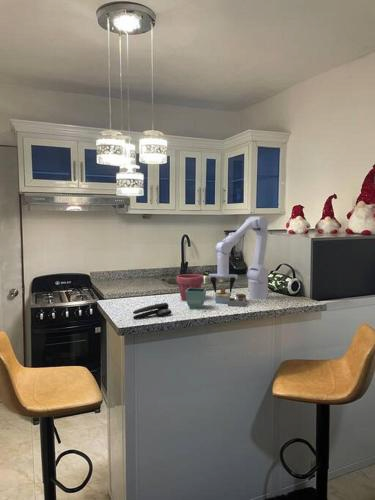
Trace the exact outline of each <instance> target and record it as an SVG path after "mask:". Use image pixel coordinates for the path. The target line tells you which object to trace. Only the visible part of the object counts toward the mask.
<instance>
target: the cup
mask: <svg viewBox="0 0 375 500" xmlns="http://www.w3.org/2000/svg"><path fill="white" fill-rule="evenodd" d="M230 298H231V296H229V297H218V296H215V304H222V305H223V304H226V305H228V299H230Z"/></svg>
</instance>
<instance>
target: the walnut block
mask: <svg viewBox="0 0 375 500" xmlns="http://www.w3.org/2000/svg"><path fill="white" fill-rule="evenodd" d="M235 296H238V298H245V303H246V302H247V294H245V293H236V294H235Z"/></svg>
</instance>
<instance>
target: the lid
mask: <svg viewBox="0 0 375 500" xmlns="http://www.w3.org/2000/svg"><path fill="white" fill-rule="evenodd" d="M214 296H215V297H216V296H218V297H229V296H230V297H231V296H232V292H231V293H230V292H226V287H220V291H219V292H216V293H215V292H214Z"/></svg>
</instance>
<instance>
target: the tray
mask: <svg viewBox="0 0 375 500" xmlns="http://www.w3.org/2000/svg"><path fill="white" fill-rule="evenodd" d="M245 303H246V302H245V298H238V301H234V297H230V299H228V304H227V307H239V308H241V307H242V308H244V307H245V306H246V305H245Z"/></svg>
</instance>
